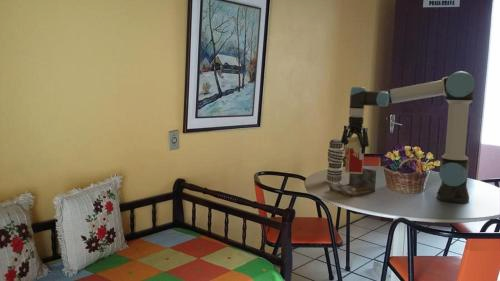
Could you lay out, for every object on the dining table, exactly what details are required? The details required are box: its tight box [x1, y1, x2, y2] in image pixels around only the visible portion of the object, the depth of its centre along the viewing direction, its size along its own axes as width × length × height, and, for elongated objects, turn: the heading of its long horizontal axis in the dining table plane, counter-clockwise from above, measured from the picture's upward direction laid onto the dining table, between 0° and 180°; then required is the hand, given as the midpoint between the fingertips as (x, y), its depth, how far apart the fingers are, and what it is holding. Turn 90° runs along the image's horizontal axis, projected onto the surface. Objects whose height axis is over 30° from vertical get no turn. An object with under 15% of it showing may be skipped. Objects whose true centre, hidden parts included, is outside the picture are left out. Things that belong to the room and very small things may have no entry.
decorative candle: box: [326, 138, 344, 184], centre depth 253 cm, size 9×9×25 cm
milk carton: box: [344, 135, 364, 174], centre depth 231 cm, size 9×9×20 cm
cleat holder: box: [328, 166, 377, 198], centre depth 233 cm, size 16×19×12 cm
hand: (353, 157), depth 232 cm, fingers closed on milk carton, 9 cm apart
